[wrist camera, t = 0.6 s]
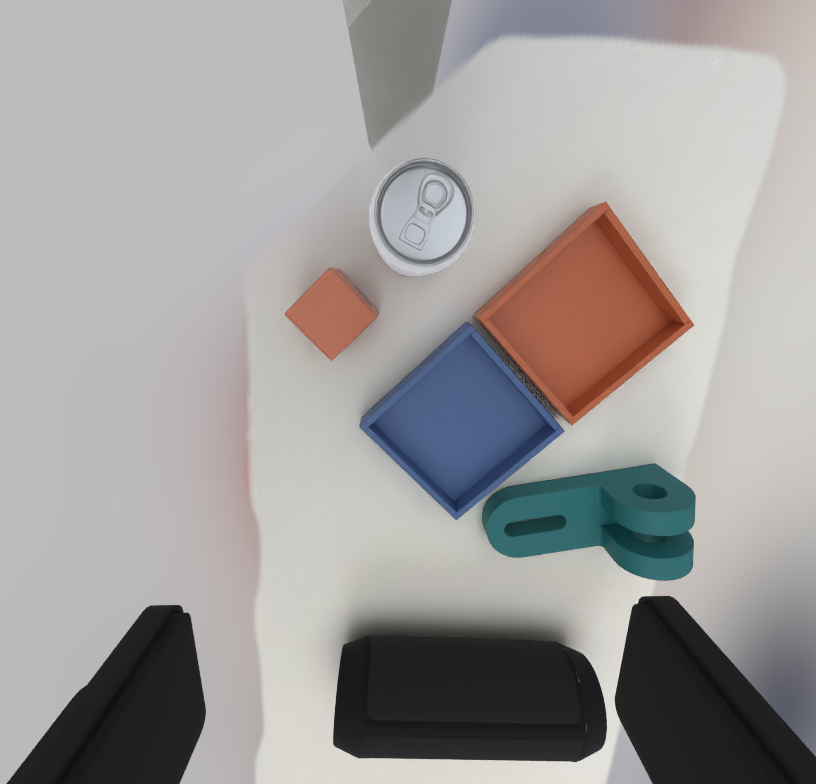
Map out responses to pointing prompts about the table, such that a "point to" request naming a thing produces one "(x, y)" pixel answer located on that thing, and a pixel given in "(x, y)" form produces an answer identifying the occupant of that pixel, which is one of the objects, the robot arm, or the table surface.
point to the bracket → (600, 519)
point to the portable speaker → (467, 700)
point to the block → (332, 313)
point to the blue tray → (460, 422)
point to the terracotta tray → (584, 314)
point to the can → (421, 217)
